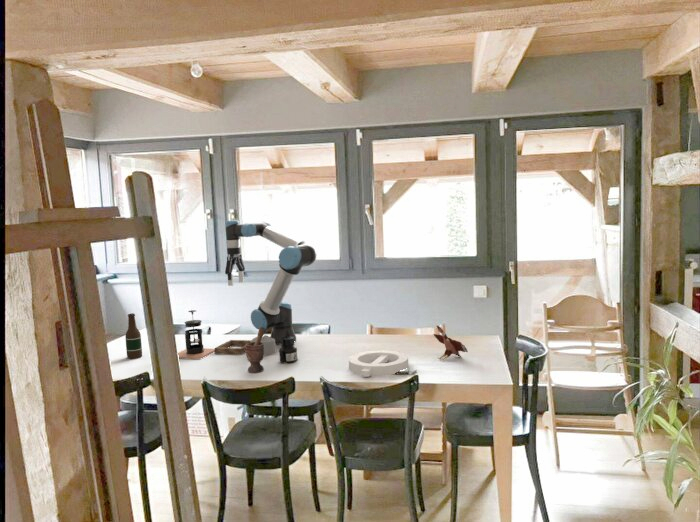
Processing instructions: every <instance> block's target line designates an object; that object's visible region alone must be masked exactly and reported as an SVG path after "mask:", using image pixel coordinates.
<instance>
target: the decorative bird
mask: <svg viewBox="0 0 700 522" xmlns="http://www.w3.org/2000/svg"><path fill="white" fill-rule="evenodd" d="M436 328H437V331H438V332H439V333H440V334H437V333H435V334H434V333H433V337H434V338H436V339H437V341H438V342H440V343H441V344H443V345H444V347H445V351H444V353H443V354H442V355H441V356H440V357H438V359H439V360H441V361H445V359H447V358H449V357H451V355H455V356H457V357H459V358H462V356H461V354H460V353H459V352H462V353H465V352H466V353H468V349H467V347H466V346H465V344H463V343H462V342H461V341H459V340H455V339H452V338H451V337H448V336H447V333H445V331H444V329H443V328H442V326H441V327H440V326H439V325H436Z"/></svg>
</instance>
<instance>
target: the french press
mask: <svg viewBox="0 0 700 522" xmlns="http://www.w3.org/2000/svg"><path fill="white" fill-rule="evenodd" d="M195 312H197V310H194V309H193V310H192V309H191V310H188V313H191V315H192V317H191V318H192V320H187V321H184V324H185V327H186V328H191V329H187V330H185V331H184V337H185V338H184V339H185V349H186V350H187V352H186V353H187V354H199V353H202V352H204V349H203V348H204V344H203V335H202V333H203V329H201V328H196V327H200V326H202V321H203V320H201V319H194V313H195ZM192 335H193V339H191V336H192ZM195 335H197V338H196V337H195Z"/></svg>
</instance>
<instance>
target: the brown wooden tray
mask: <svg viewBox="0 0 700 522" xmlns="http://www.w3.org/2000/svg"><path fill="white" fill-rule="evenodd" d="M251 340H252V339H251ZM251 340H250V339H248V340H247V339H243V340H242V339H230V340H228V341H226V342H224V343H222V344H221V345H218V346H216V347H215V348H214V349H215V352H214V354H215V353H224V354H223V355H243V354H246V348H245V344H247V343H250V341H251ZM232 345H237V346H236V347H233V346H232ZM230 346H231V347H230ZM228 347H229V348H228Z"/></svg>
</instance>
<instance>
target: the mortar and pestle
mask: <svg viewBox="0 0 700 522" xmlns="http://www.w3.org/2000/svg"><path fill="white" fill-rule="evenodd" d="M265 330H266V329H265V328H263V327H260V329H258V332H257V335H256V337H257V340H256V342H251V343H247V344H245V348H246V352H245V356H246V359H247V361H248V362H249V363H250V365H249V367H248V368H247V372H248V373H250V374H251V373H253V374H254V373H261V372H262V371H264V366H263V365H262V364H261V362H262V361H263V359H264V356H265V355H264V345H263V343H261V342H260V341H261V339H262V337H263V336H265V335H264V334H265V333H266V331H265Z"/></svg>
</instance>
